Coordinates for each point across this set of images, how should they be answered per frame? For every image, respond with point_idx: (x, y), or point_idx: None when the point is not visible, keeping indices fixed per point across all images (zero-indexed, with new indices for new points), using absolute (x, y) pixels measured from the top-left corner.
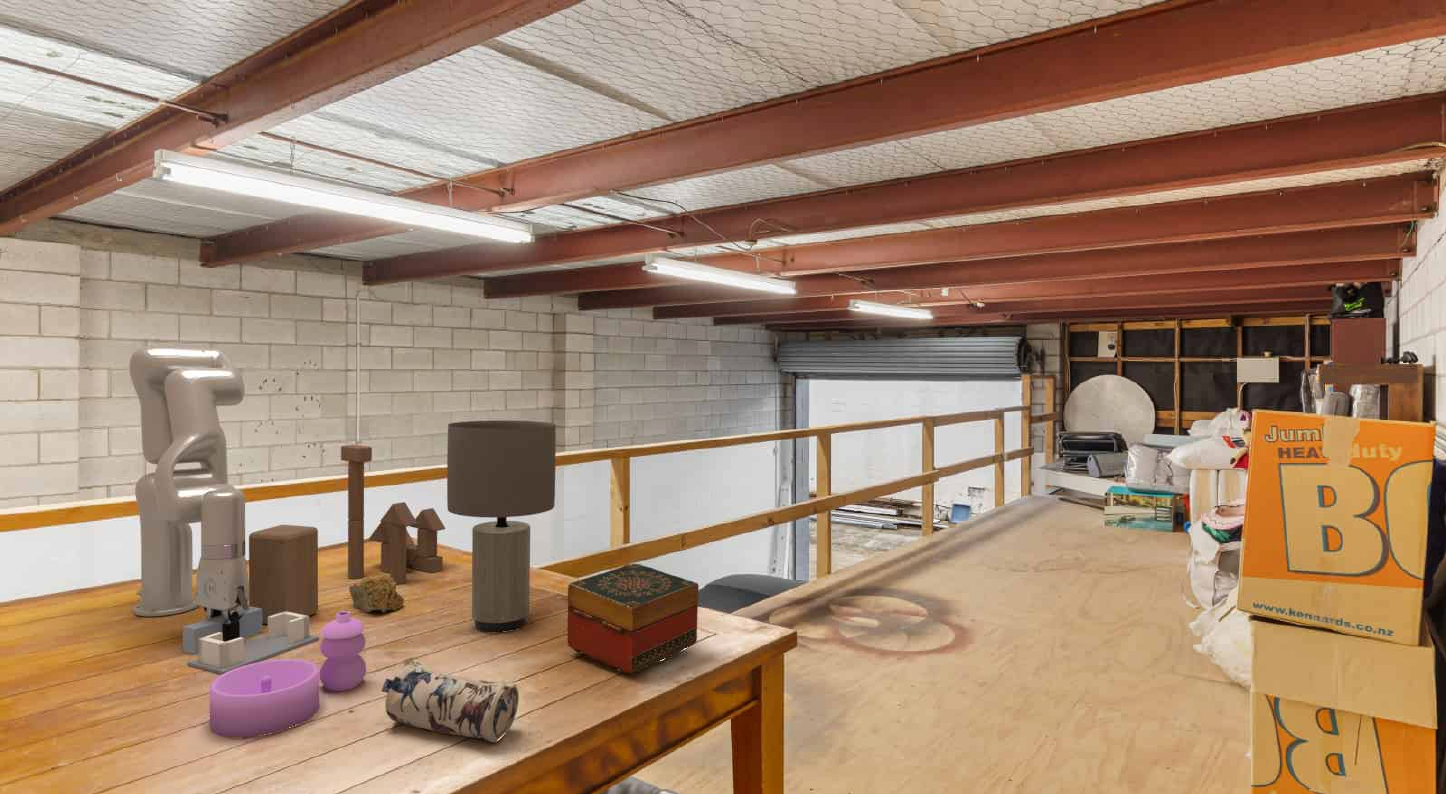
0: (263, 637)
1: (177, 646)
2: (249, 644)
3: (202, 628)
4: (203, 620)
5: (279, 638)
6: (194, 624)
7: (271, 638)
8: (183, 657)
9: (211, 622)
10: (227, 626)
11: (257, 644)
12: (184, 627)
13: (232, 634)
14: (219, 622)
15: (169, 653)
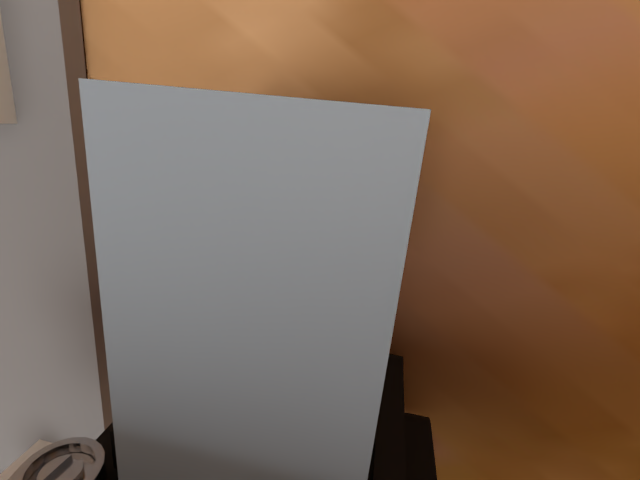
0: None
1: (582, 197)
2: (47, 338)
3: (110, 213)
4: (366, 456)
5: (9, 450)
6: (328, 278)
7: (39, 442)
8: (276, 10)
9: (176, 408)
10: None
11: (11, 350)
12: (376, 106)
13: None
14: (122, 440)
15: (495, 29)
